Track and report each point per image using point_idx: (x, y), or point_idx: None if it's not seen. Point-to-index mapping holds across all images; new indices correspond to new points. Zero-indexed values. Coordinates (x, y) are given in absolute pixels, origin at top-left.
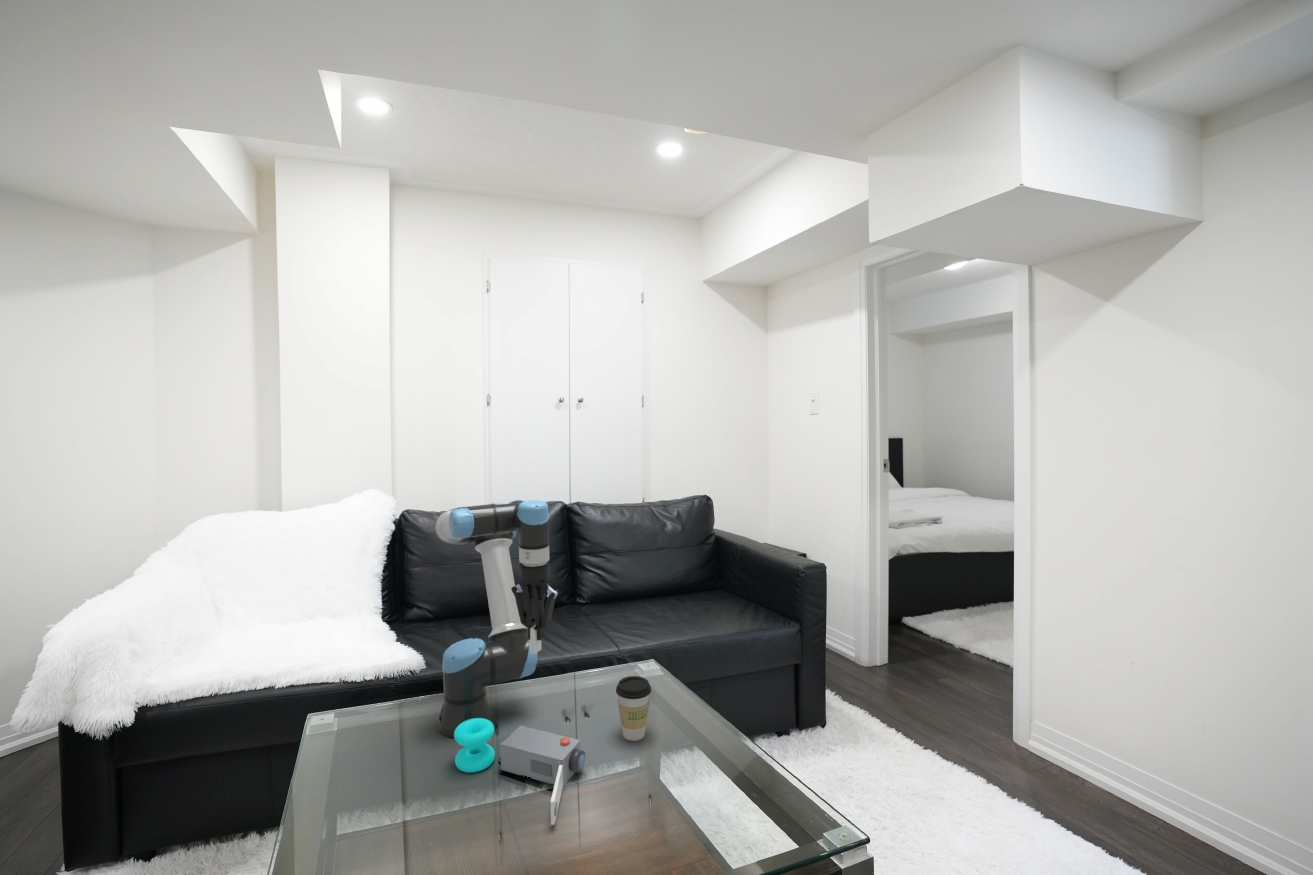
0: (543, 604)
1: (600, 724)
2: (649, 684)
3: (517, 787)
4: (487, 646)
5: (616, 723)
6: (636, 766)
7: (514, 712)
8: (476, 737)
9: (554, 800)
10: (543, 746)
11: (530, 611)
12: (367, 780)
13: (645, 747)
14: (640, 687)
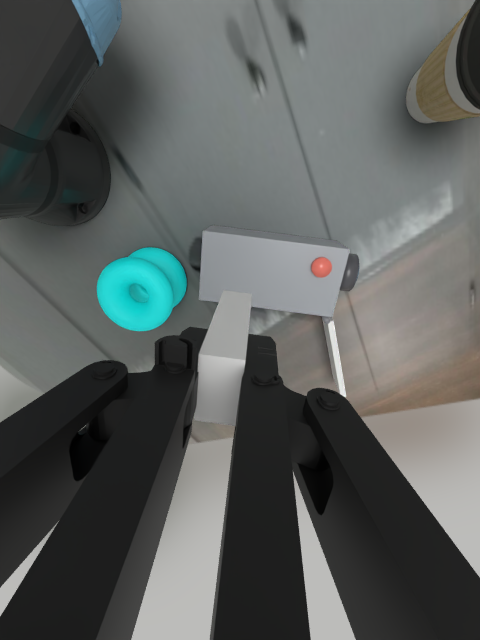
0: (303, 628)
1: (343, 72)
2: None
3: (253, 315)
4: None
5: (383, 52)
6: (445, 214)
7: (122, 86)
8: (157, 323)
9: (345, 393)
10: (281, 287)
11: (152, 561)
12: (47, 348)
13: (464, 141)
14: None
